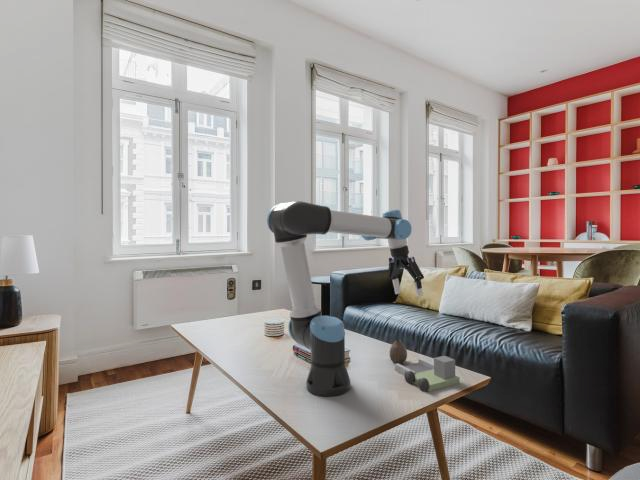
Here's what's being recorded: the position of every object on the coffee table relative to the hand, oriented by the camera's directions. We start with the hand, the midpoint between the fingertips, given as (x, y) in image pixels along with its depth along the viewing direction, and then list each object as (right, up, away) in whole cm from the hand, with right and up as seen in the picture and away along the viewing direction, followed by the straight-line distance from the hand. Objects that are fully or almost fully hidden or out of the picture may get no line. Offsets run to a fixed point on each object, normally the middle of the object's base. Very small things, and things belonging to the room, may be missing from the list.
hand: (408, 294), depth 165 cm
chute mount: (-1, -26, -20) cm, 33 cm away
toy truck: (+1, -26, -30) cm, 40 cm away
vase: (-6, -26, -10) cm, 28 cm away
